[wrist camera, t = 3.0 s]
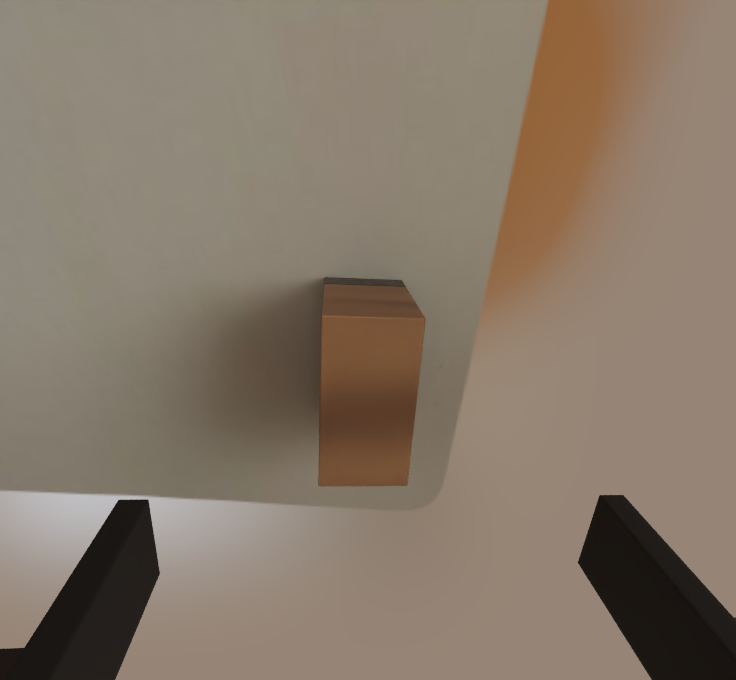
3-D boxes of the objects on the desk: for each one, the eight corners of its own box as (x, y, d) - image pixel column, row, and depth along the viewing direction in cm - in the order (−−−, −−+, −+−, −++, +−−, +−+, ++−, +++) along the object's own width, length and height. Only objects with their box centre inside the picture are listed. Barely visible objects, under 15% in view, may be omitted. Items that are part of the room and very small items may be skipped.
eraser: (324, 277, 25) (321, 314, 18) (402, 280, 25) (426, 318, 19) (321, 413, 28) (318, 486, 21) (390, 414, 28) (407, 486, 22)
